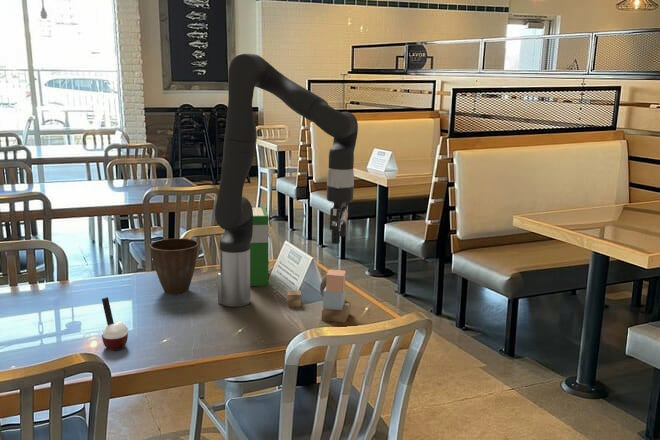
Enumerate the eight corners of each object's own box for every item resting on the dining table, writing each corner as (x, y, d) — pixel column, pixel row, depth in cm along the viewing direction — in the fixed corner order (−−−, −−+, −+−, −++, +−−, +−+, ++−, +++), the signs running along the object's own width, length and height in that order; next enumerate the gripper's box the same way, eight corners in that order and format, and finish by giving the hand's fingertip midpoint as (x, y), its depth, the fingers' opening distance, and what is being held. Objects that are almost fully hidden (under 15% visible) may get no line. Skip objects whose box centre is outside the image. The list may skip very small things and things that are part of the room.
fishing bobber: (129, 353, 158) (129, 309, 155) (103, 356, 156) (102, 311, 153) (126, 337, 167) (125, 295, 164) (101, 339, 164) (100, 297, 161)
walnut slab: (321, 321, 182) (321, 309, 181) (326, 312, 189) (326, 301, 188) (345, 323, 181) (345, 312, 180) (349, 314, 187) (349, 303, 187)
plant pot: (142, 294, 199) (140, 246, 195) (171, 281, 212) (169, 236, 209) (181, 302, 193) (179, 252, 190) (208, 288, 207) (207, 241, 203)
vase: (339, 303, 195) (339, 276, 194) (317, 301, 197) (318, 275, 195) (343, 296, 202) (343, 270, 200) (322, 294, 203) (322, 268, 201)
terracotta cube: (326, 291, 181) (326, 274, 179) (328, 285, 185) (328, 269, 184) (343, 292, 180) (343, 275, 179) (345, 286, 185) (345, 270, 184)
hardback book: (243, 270, 227) (242, 205, 221) (263, 269, 228) (263, 205, 223) (246, 286, 210) (245, 216, 204) (268, 285, 211) (268, 216, 206)
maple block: (287, 307, 192) (287, 294, 191) (286, 302, 195) (286, 290, 195) (300, 306, 192) (300, 294, 191) (299, 302, 196) (299, 290, 195)
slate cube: (322, 308, 182) (323, 290, 181) (326, 302, 187) (326, 284, 186) (341, 310, 181) (342, 292, 180) (344, 303, 186) (344, 286, 185)
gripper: (332, 179, 183) (330, 233, 186) (321, 187, 169) (320, 245, 173) (357, 181, 181) (355, 235, 185) (348, 189, 168) (346, 247, 171)
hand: (338, 239), depth 179 cm, fingers open, 8 cm apart
